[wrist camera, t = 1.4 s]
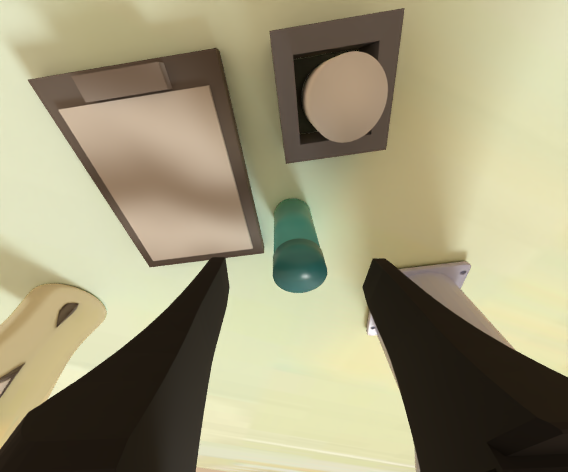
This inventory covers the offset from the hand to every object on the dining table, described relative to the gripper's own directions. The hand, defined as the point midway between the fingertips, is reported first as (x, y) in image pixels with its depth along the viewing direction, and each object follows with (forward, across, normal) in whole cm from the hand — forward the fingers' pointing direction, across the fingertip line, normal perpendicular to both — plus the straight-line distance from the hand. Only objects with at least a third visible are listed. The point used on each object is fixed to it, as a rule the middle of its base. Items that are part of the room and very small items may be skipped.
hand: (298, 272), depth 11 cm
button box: (+6, -1, -7) cm, 9 cm away
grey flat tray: (+6, +7, -2) cm, 10 cm away
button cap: (+5, -1, -7) cm, 9 cm away
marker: (+6, 0, 0) cm, 6 cm away
